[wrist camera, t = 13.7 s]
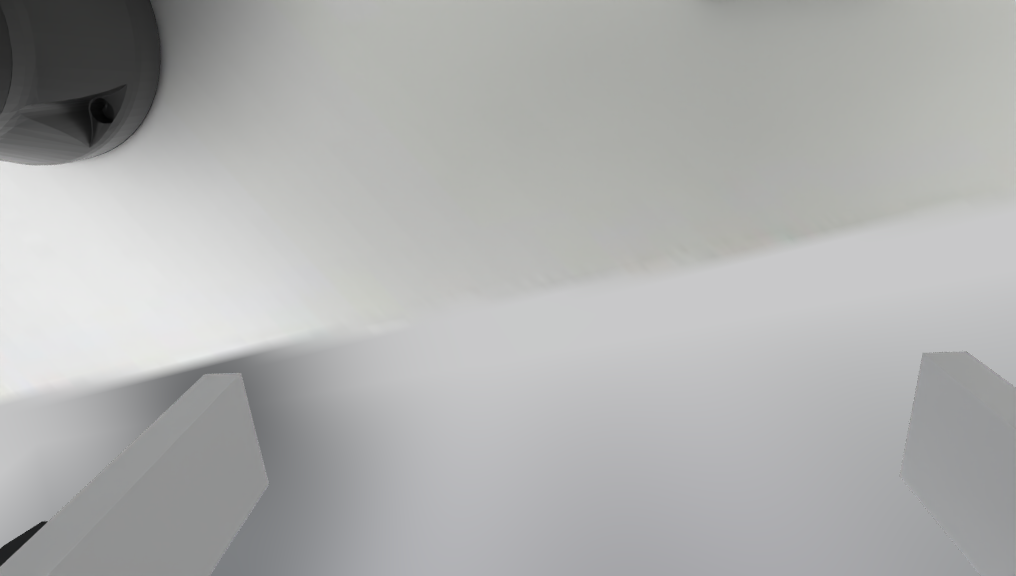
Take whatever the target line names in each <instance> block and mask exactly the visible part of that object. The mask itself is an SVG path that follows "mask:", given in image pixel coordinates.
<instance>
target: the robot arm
mask: <svg viewBox="0 0 1016 576" xmlns="http://www.w3.org/2000/svg"><path fill="white" fill-rule="evenodd" d="M159 72H160V45H159V36H158V30H157V25H156V20H155V16H154V13H153V9H152V6H151V3H150V1H149V0H0V160H1V161H7V162H13V163H19V164H26V165H57V164H64V163H69V162H73V161H78V160H82V159H86V158H90V157H94V156H97V155H100V154H103V153H105V152H107V151H109V150H111V149H113V148H115V147H117V146H118V145H120V144H121V143H122V142H124V141H125V140H126V139H127V138H128V137H130V136H131V135H132V134H133V133H134V131H135V130H136V129H137V128H138V127H139V125H140V124H141V123H142V121H143V120H144V118H145V116H146V115H147V113H148V111H149V109H150V107H151V104H152V102H153V99H154V96H155V93H156V89H157V84H158V79H159ZM900 477H901V478H902V480H903V481H904V482H905V484H906V485H907V486H908V487H909V488H910V490H911V491H912V492H913V493H914V495H915V496H916V497H917V498H918V499H919V501H920V502H921V503H922V505H923V506H924V507H925V508H926V509H927V511H928V512H929V513H930V514H931V515H932V517H933V518H934V519H935V520H936V522H937V523H938V524H939V525H940V527H941V528H942V529H943V530H944V531H945V533H946V534H947V535H948V536H949V538H950V539H951V540H952V542H953V543H954V544H955V545H956V546H957V548H958V549H959V550H960V551H961V553H962V554H963V555H964V556H965V558H966V559H967V560H968V561H969V563H970V564H971V565H972V566H973V567H974V569H975V570H976V571H977V572H978V574H979V575H980V576H1016V387H1014V386H1013V385H1012V384H1010V383H1009V382H1007V381H1006V380H1005V379H1003V378H1002V377H1001V376H999V375H998V374H997V373H995V372H994V371H992V370H991V369H990V368H988V367H987V366H986V365H984V364H983V363H982V362H980V361H979V360H978V359H976V358H975V357H973V356H972V355H971V354H969V353H968V352H939V353H923V355H922V360H921V366H920V371H919V376H918V381H917V386H916V392H915V397H914V402H913V408H912V413H911V418H910V423H909V428H908V434H907V439H906V444H905V449H904V455H903V460H902V465H901V471H900ZM268 485H269V483H268V479H267V475H266V471H265V467H264V463H263V459H262V456H261V451H260V447H259V443H258V439H257V435H256V431H255V427H254V424H253V419H252V415H251V411H250V407H249V403H248V399H247V395H246V392H245V387H244V383H243V379H242V375H241V373H227V374H226V373H225V374H204V375H203V376H202V377H201V378H200V379H199V380H198V381H197V382H196V383H195V384H194V385H193V386H192V387H191V388H190V389H189V390H187V391H186V392H185V393H184V394H183V395H182V396H181V397H180V398H179V399H178V400H177V401H176V402H175V403H174V404H173V405H172V406H170V407H169V408H168V409H167V410H166V411H165V412H164V413H163V414H162V415H161V416H160V417H159V418H158V419H157V420H156V421H155V422H153V423H152V425H150V426H149V427H148V428H147V429H146V430H145V431H144V432H143V433H142V434H141V435H140V436H139V437H138V438H137V439H135V440H134V441H133V442H132V443H131V444H130V445H129V446H128V447H127V448H126V449H125V450H124V451H123V452H122V453H121V454H120V455H118V456H117V457H116V458H115V459H114V460H113V461H112V462H111V463H110V464H109V465H108V466H107V467H106V468H105V469H104V470H103V471H102V472H100V473H99V474H98V475H97V476H96V477H95V478H94V479H93V480H92V481H91V482H90V483H89V484H88V485H87V486H85V487H84V488H83V489H82V490H81V491H80V492H79V493H78V494H77V495H76V496H75V497H74V498H73V499H72V500H71V501H70V502H68V503H67V504H66V505H65V506H64V507H63V508H62V509H61V510H60V511H59V512H58V513H57V514H56V515H55V516H54V517H53V518H51V519H50V520H49V521H46V522H41V523H39V524H38V525H36V526H34V527H33V528H31V529H30V530H28V531H26V532H25V533H23V534H22V535H20V536H18V537H17V538H15V539H14V540H12V541H10V542H9V543H7V544H6V545H4V546H3V547H2V548H1V549H0V576H210V575H211V573H212V571H213V570H214V568H215V567H216V565H217V564H218V562H219V561H220V559H221V557H222V556H223V555H224V553H225V551H226V550H227V548H228V547H229V545H230V544H231V542H232V541H233V539H234V538H235V536H236V534H237V533H238V531H239V530H240V528H241V527H242V525H243V523H244V522H245V521H246V519H247V517H248V516H249V514H250V513H251V511H252V510H253V508H254V507H255V505H256V504H257V502H258V500H259V499H260V497H261V496H262V494H263V493H264V491H265V490H266V488H267V487H268Z"/></svg>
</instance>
